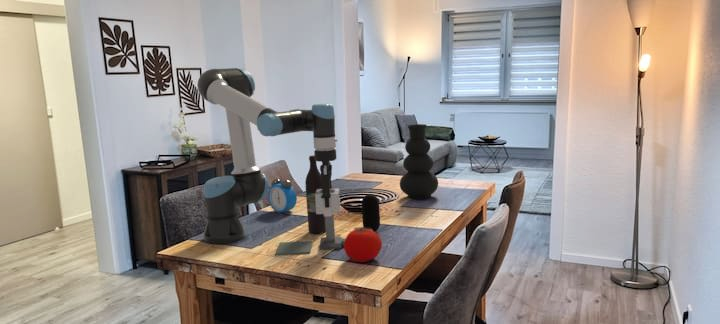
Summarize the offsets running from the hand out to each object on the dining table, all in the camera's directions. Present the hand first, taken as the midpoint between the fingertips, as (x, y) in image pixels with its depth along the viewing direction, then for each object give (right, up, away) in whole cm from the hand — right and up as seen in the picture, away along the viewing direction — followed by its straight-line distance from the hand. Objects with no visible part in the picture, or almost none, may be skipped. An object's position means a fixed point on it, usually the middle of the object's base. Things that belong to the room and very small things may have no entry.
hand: (328, 212), depth 179 cm
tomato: (+12, -14, -14) cm, 23 cm away
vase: (+40, +1, +66) cm, 77 cm away
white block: (0, +1, 0) cm, 1 cm away
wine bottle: (-5, -10, +20) cm, 22 cm away
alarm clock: (-24, -5, +53) cm, 58 cm away
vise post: (+7, -12, +2) cm, 14 cm away
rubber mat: (-12, -13, +1) cm, 18 cm away
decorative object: (+16, -9, +15) cm, 23 cm away
